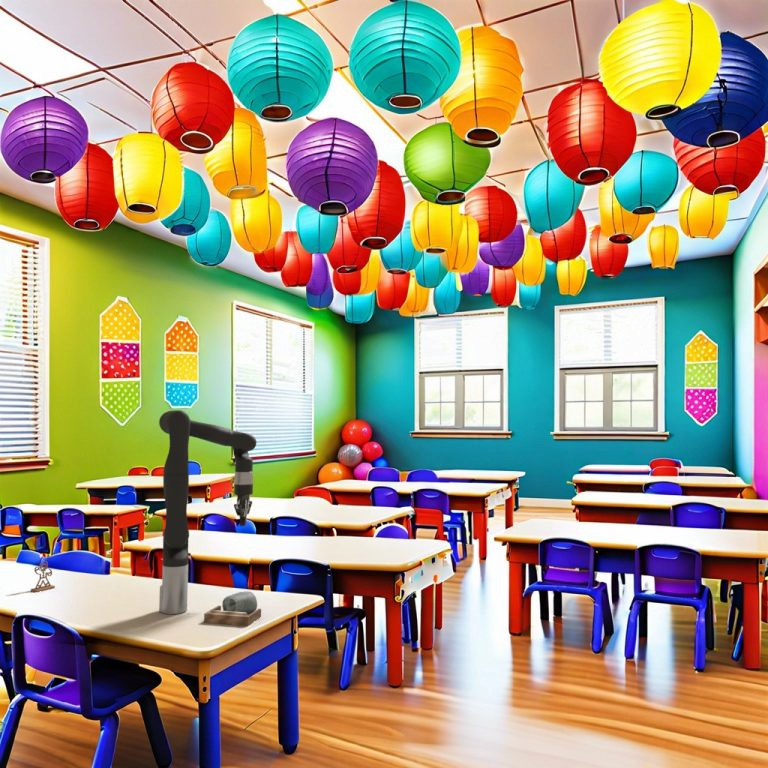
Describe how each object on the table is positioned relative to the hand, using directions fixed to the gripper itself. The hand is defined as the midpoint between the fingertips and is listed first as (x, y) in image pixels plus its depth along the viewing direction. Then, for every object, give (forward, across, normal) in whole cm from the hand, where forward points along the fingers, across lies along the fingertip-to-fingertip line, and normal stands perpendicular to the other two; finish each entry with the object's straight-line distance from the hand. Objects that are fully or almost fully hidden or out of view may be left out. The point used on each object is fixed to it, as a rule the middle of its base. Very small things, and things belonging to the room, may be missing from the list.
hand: (242, 525), depth 277 cm
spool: (+29, +22, +10) cm, 38 cm away
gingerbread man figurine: (+29, +9, -86) cm, 91 cm away
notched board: (+29, +28, +10) cm, 42 cm away
